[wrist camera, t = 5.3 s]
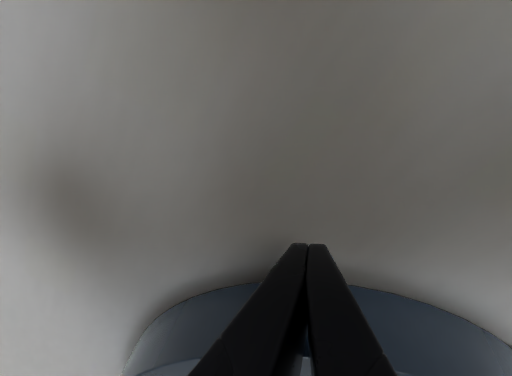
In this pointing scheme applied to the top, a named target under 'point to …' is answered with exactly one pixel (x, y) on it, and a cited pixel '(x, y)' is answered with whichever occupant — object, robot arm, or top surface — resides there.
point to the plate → (370, 302)
